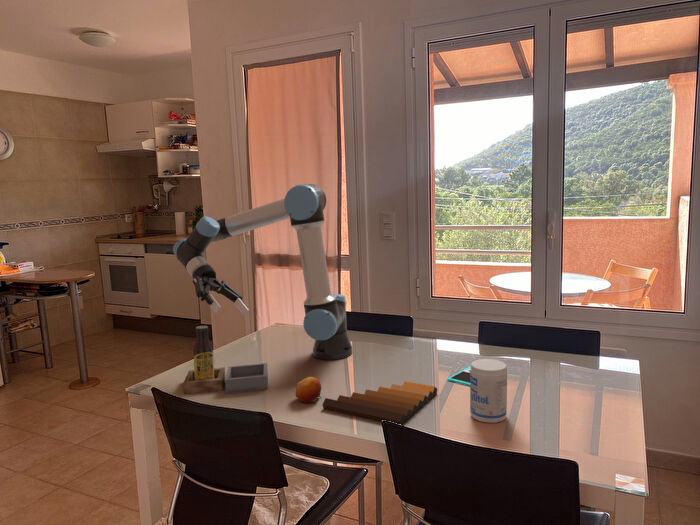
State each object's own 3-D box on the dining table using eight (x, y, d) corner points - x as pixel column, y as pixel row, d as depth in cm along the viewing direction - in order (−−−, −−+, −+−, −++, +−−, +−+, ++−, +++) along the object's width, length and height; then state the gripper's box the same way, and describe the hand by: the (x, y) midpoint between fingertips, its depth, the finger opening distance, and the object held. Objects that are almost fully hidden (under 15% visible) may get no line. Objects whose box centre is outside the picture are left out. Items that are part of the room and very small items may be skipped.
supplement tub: (464, 418, 143) (463, 365, 141) (480, 406, 150) (479, 356, 148) (498, 427, 137) (497, 372, 135) (513, 414, 144) (513, 362, 142)
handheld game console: (499, 374, 175) (499, 370, 175) (474, 389, 164) (474, 385, 163) (472, 368, 182) (472, 364, 182) (446, 382, 170) (446, 378, 170)
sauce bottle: (197, 390, 172) (192, 330, 170) (193, 384, 178) (188, 326, 175) (217, 385, 175) (212, 327, 172) (213, 380, 181) (208, 323, 178)
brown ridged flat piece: (322, 411, 153) (400, 429, 140) (322, 400, 152) (400, 416, 139) (365, 382, 174) (437, 395, 161) (365, 372, 173) (437, 384, 160)
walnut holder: (225, 377, 183) (224, 367, 183) (222, 389, 172) (221, 379, 171) (189, 380, 182) (188, 370, 181) (184, 393, 170) (183, 383, 169)
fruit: (324, 401, 155) (309, 378, 155) (302, 413, 157) (288, 390, 157) (330, 390, 163) (316, 368, 163) (310, 402, 165) (296, 380, 165)
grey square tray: (267, 375, 183) (266, 362, 182) (267, 389, 170) (266, 376, 169) (229, 379, 181) (228, 366, 180) (226, 393, 168) (225, 380, 168)
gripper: (220, 284, 199) (251, 322, 189) (168, 275, 178) (198, 317, 168) (231, 268, 197) (263, 306, 187) (179, 258, 176) (211, 299, 166)
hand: (232, 311), depth 177 cm, fingers open, 13 cm apart
